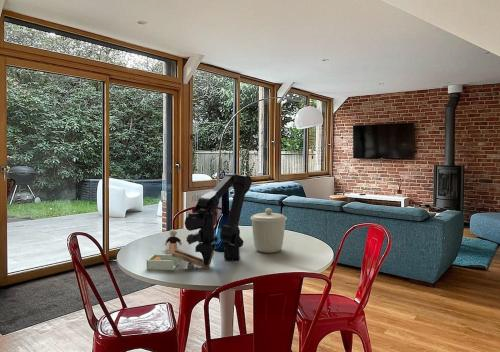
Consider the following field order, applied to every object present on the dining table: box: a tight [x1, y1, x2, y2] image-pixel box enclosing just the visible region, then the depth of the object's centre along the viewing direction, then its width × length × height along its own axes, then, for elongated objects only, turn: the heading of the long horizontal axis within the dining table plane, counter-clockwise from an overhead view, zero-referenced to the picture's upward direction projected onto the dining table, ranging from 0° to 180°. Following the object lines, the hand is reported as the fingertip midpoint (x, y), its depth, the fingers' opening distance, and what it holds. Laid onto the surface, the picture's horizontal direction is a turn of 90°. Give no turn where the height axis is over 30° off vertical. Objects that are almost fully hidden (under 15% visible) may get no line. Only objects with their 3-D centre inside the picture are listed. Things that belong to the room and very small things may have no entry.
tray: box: [146, 253, 180, 271], centre depth 158 cm, size 11×9×4 cm
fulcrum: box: [182, 262, 199, 271], centre depth 157 cm, size 5×6×2 cm
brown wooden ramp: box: [172, 249, 215, 270], centre depth 157 cm, size 16×5×6 cm, turn 86°
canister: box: [250, 207, 288, 254], centre depth 184 cm, size 18×18×21 cm
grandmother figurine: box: [164, 229, 183, 255], centre depth 174 cm, size 8×4×13 cm, turn 105°
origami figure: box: [163, 241, 182, 253], centre depth 187 cm, size 12×8×5 cm
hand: (207, 263), depth 157 cm, fingers closed on brown wooden ramp, 4 cm apart
